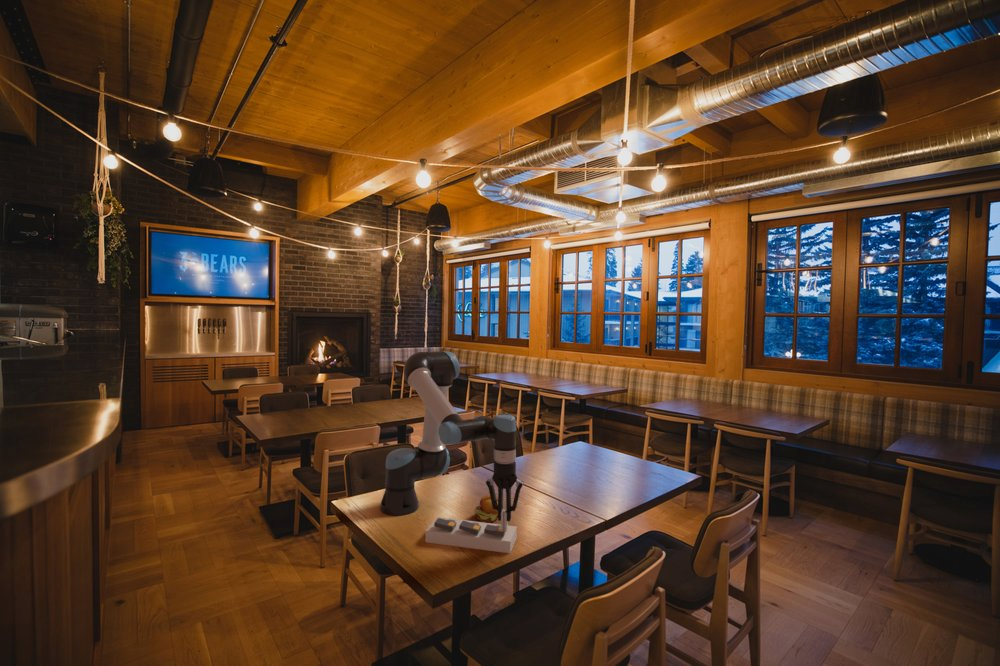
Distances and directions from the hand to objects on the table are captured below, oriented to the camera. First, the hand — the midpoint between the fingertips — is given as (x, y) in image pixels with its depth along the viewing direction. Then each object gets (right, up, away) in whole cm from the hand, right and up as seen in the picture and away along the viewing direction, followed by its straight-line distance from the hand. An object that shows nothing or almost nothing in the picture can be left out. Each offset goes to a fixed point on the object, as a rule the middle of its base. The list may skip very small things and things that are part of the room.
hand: (504, 530), depth 160 cm
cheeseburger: (-6, -6, +24) cm, 26 cm away
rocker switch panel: (-11, -6, +6) cm, 14 cm away
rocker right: (-3, -1, +1) cm, 4 cm away
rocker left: (-21, -1, +5) cm, 21 cm away
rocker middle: (-12, -1, +3) cm, 12 cm away
